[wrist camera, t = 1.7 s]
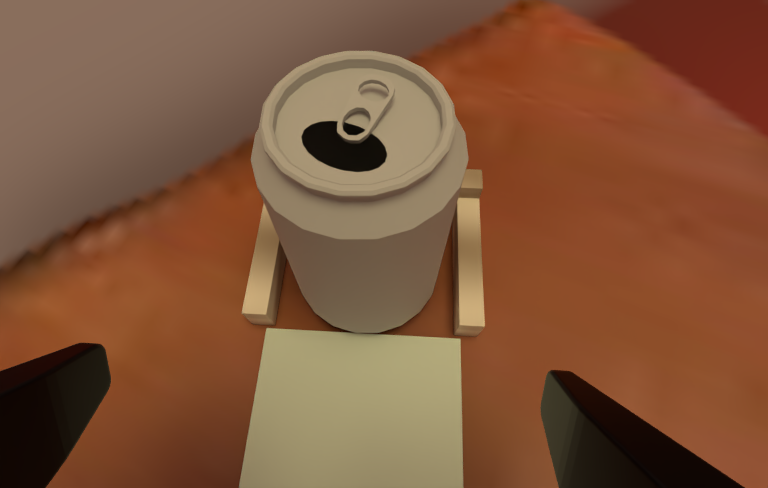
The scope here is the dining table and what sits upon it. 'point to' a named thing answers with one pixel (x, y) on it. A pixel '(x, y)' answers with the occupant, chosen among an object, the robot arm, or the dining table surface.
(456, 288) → the shelf lane
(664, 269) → the dining table surface
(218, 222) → the dining table surface
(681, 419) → the dining table surface
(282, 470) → the mat
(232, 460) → the dining table surface
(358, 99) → the can
